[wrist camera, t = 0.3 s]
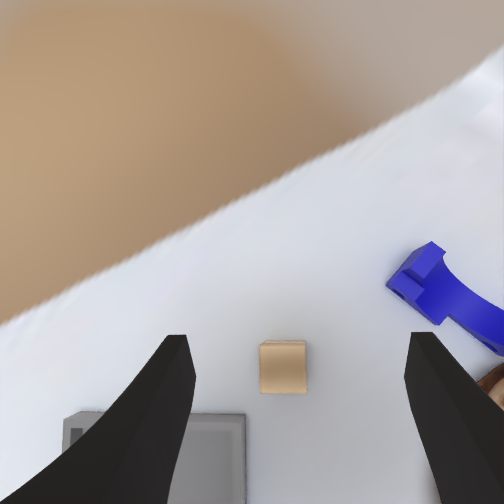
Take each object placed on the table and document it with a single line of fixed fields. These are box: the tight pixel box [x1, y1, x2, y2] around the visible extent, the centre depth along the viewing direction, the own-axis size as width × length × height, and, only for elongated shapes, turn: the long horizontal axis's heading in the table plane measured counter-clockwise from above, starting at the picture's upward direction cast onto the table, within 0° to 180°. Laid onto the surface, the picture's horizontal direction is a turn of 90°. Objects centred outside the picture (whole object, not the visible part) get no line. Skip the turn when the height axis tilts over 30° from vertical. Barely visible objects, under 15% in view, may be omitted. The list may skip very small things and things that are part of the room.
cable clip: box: [386, 241, 504, 356], centre depth 37 cm, size 12×4×6 cm, turn 49°
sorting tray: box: [62, 412, 246, 504], centre depth 39 cm, size 14×18×3 cm
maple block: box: [259, 341, 307, 394], centre depth 38 cm, size 4×4×6 cm
